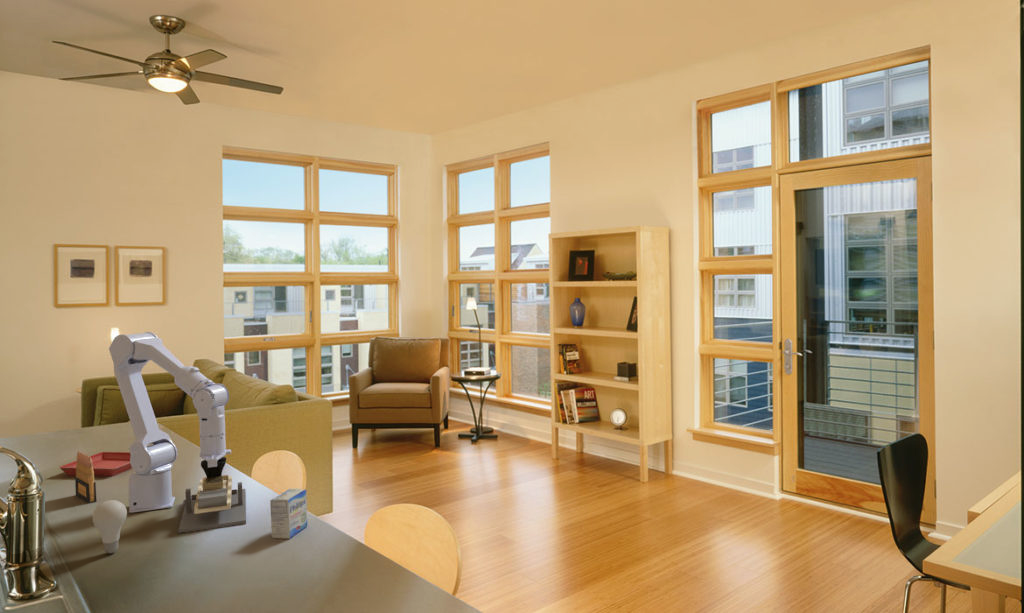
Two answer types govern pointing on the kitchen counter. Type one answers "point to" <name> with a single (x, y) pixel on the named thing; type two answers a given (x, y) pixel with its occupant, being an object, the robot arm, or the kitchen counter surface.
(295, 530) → the medicine box
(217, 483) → the block
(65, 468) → the red tray
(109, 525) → the lightbulb
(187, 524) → the stand
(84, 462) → the ammunition clip
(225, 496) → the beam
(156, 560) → the kitchen counter surface
